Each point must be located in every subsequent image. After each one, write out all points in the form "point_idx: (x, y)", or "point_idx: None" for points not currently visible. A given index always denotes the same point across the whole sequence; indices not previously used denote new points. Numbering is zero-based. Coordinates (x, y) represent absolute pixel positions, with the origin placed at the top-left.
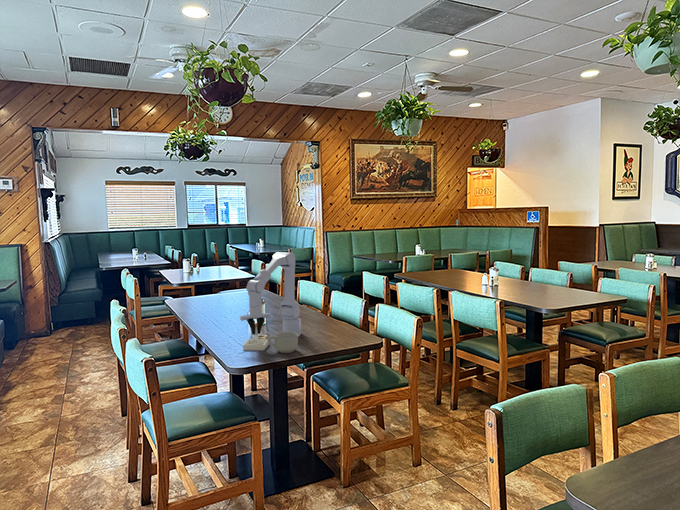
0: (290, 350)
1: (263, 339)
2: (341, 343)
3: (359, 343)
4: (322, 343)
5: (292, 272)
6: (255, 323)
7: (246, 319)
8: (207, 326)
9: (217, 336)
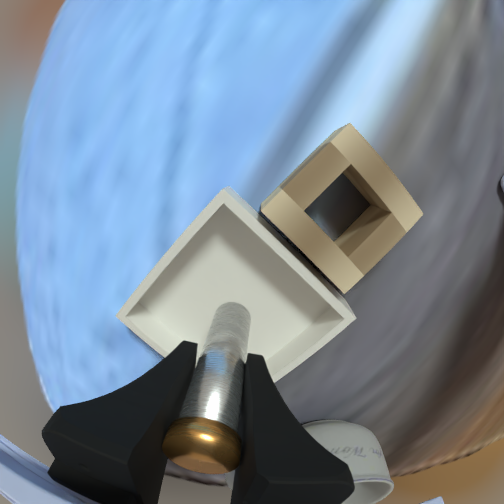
0: None
1: (325, 292)
2: (492, 418)
3: (500, 429)
4: (480, 401)
5: None
6: (202, 450)
7: (38, 470)
8: None
9: None
